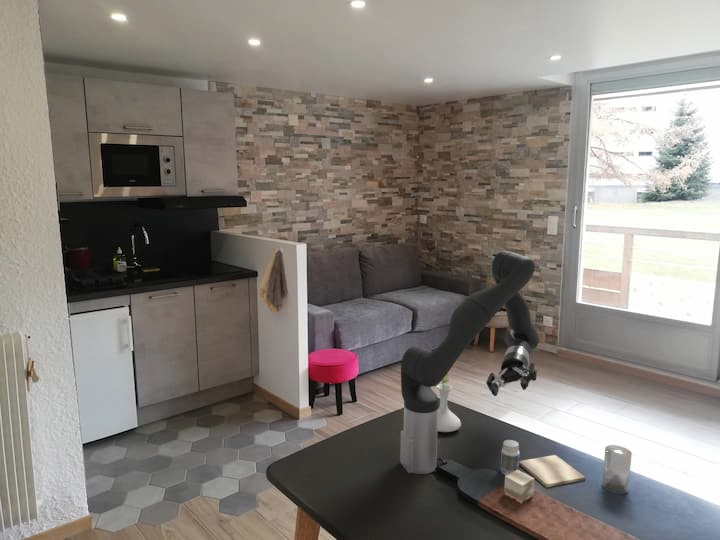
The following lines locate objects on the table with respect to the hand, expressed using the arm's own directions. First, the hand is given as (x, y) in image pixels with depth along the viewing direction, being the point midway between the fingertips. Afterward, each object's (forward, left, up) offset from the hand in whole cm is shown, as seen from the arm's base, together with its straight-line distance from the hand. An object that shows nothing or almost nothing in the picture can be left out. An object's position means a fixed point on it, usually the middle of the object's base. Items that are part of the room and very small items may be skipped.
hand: (508, 390), depth 143 cm
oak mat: (+7, -11, -20) cm, 24 cm away
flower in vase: (-10, +21, -20) cm, 31 cm away
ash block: (-8, -18, -20) cm, 28 cm away
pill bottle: (-4, -8, -20) cm, 22 cm away
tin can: (+18, -22, -20) cm, 35 cm away
